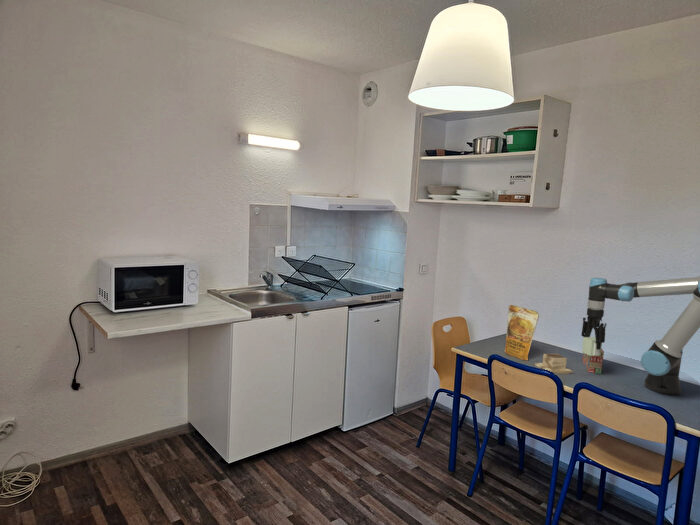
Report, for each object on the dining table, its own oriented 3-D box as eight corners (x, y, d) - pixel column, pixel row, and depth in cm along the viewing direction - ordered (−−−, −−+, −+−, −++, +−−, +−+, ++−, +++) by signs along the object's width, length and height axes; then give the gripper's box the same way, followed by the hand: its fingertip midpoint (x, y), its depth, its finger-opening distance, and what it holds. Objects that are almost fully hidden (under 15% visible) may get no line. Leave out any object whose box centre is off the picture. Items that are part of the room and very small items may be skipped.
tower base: (573, 373, 247) (574, 359, 246) (551, 374, 244) (553, 360, 243) (555, 364, 260) (557, 351, 259) (534, 365, 257) (536, 351, 256)
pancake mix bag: (507, 350, 281) (512, 303, 278) (534, 360, 265) (540, 311, 261) (499, 351, 278) (504, 304, 274) (526, 362, 261) (532, 312, 258)
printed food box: (581, 360, 271) (584, 339, 270) (593, 362, 269) (596, 340, 268) (588, 372, 251) (591, 349, 249) (601, 374, 249) (604, 351, 247)
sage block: (600, 355, 241) (602, 340, 241) (590, 355, 240) (592, 340, 239) (592, 352, 247) (593, 336, 246) (582, 352, 246) (583, 337, 245)
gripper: (616, 312, 233) (611, 358, 235) (588, 304, 251) (584, 347, 254) (603, 312, 231) (598, 359, 233) (576, 304, 249) (572, 348, 252)
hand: (591, 353), depth 244 cm, fingers closed on sage block, 6 cm apart
